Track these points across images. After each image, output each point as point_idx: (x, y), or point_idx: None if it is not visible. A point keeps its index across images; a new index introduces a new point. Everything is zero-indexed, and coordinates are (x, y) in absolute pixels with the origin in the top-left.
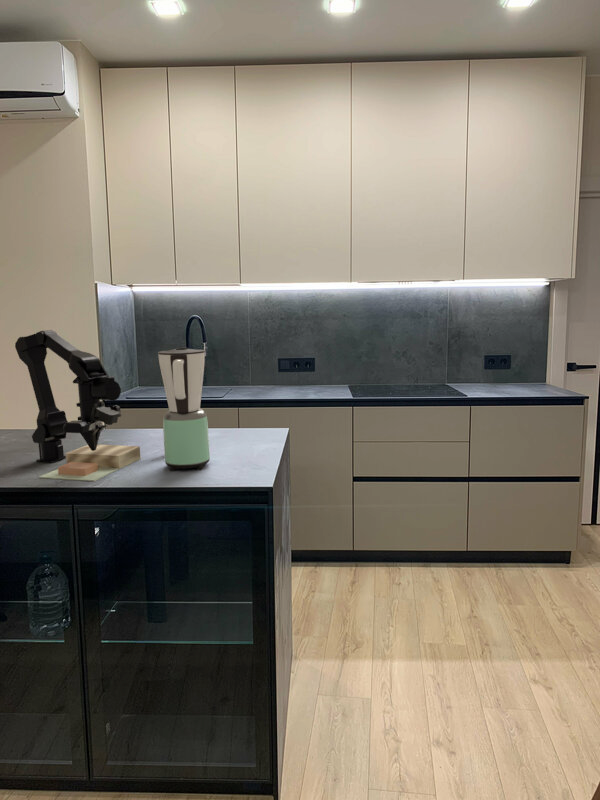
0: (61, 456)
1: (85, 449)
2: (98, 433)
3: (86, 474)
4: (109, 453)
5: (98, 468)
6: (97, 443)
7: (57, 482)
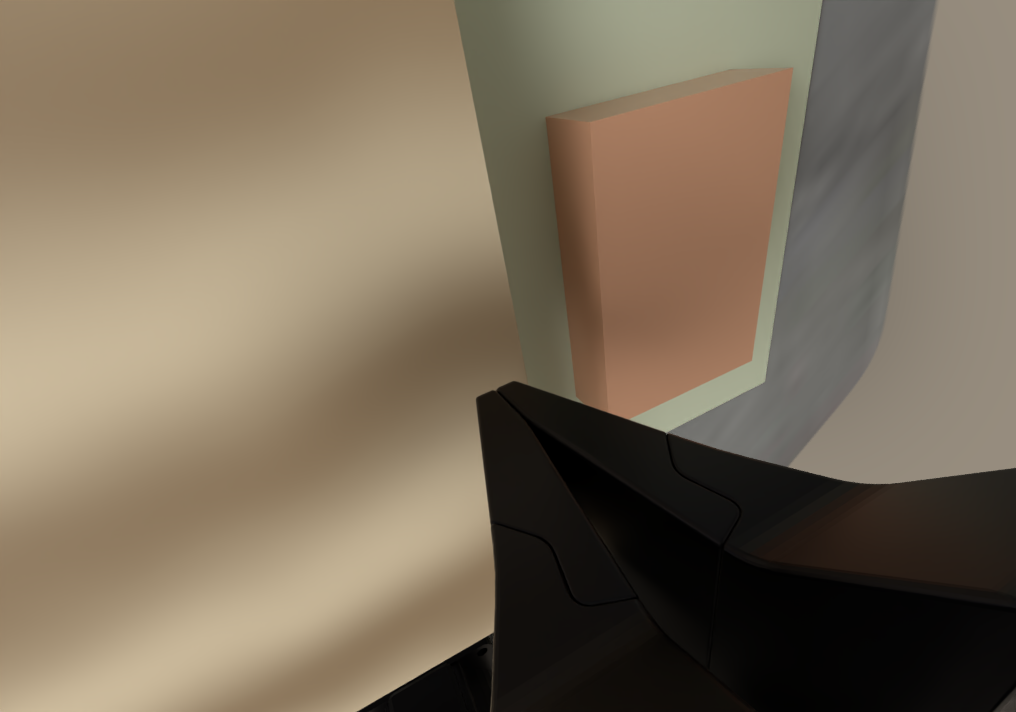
0: (421, 690)
1: (374, 627)
2: (599, 615)
3: (726, 71)
4: (354, 168)
5: (495, 174)
6: (486, 454)
7: (840, 174)
